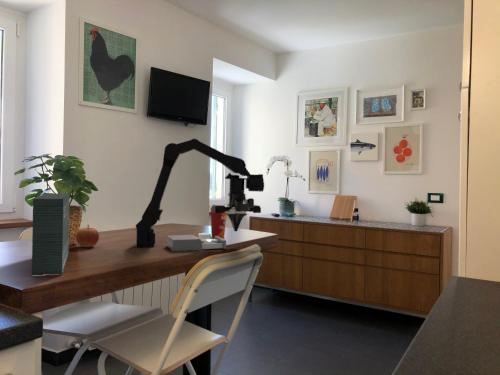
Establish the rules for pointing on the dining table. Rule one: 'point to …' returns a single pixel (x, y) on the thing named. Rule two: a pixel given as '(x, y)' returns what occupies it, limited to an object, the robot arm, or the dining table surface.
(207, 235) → the riser
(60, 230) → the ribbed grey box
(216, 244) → the tray
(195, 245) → the block
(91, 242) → the apple
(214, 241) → the disc
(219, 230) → the paper cup
